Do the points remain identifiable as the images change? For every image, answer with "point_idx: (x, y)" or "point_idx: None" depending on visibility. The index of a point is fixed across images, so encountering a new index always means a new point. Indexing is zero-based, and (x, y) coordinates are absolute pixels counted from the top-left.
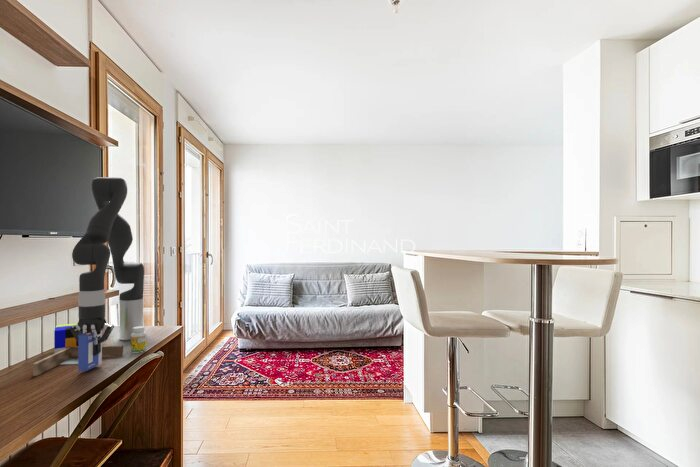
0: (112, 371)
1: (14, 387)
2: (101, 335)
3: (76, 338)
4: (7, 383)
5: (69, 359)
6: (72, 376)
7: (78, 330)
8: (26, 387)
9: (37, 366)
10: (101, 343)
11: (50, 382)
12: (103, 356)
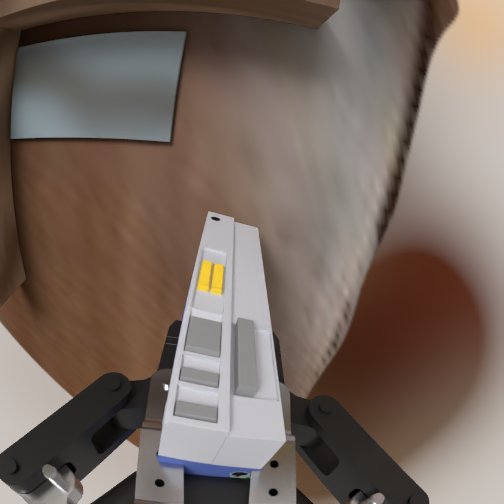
0: (331, 293)
1: (52, 364)
2: (274, 384)
3: (98, 437)
4: (6, 325)
5: (21, 61)
6: (168, 321)
7: (81, 485)
8: (84, 375)
9: (6, 299)
10: (267, 320)
11: (125, 359)
12: (192, 10)
